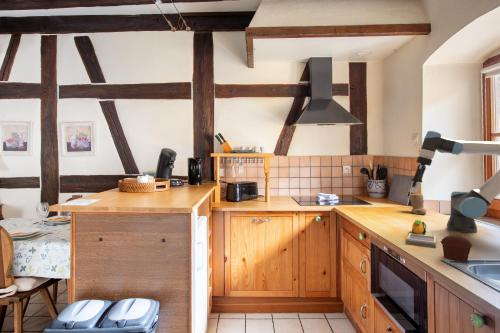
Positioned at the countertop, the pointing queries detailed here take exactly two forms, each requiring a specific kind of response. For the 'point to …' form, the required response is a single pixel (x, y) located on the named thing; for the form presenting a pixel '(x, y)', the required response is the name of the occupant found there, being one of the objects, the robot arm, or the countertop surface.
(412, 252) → the countertop surface
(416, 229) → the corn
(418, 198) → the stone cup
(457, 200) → the robot arm
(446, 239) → the muffin
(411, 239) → the board
